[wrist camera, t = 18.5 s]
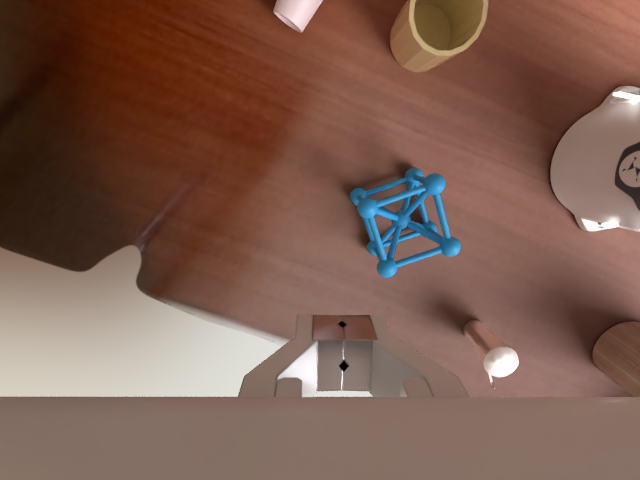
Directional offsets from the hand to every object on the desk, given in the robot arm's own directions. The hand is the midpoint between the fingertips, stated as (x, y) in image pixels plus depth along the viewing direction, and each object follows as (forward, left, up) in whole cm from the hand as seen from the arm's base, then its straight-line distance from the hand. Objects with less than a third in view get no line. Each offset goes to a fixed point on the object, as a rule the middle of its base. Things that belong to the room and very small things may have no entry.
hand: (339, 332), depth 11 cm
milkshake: (-24, +22, -35) cm, 48 cm away
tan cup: (-12, -18, -35) cm, 41 cm away
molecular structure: (-10, +3, -35) cm, 37 cm away
